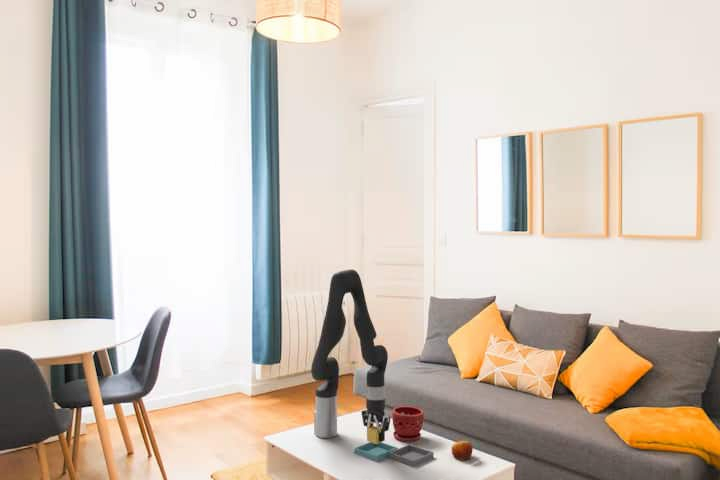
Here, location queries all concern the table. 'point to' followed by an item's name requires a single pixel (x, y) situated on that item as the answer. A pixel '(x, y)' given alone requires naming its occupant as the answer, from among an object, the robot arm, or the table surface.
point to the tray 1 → (374, 450)
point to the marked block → (373, 434)
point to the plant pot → (407, 423)
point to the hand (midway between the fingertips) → (376, 439)
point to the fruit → (462, 450)
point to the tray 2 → (411, 455)
